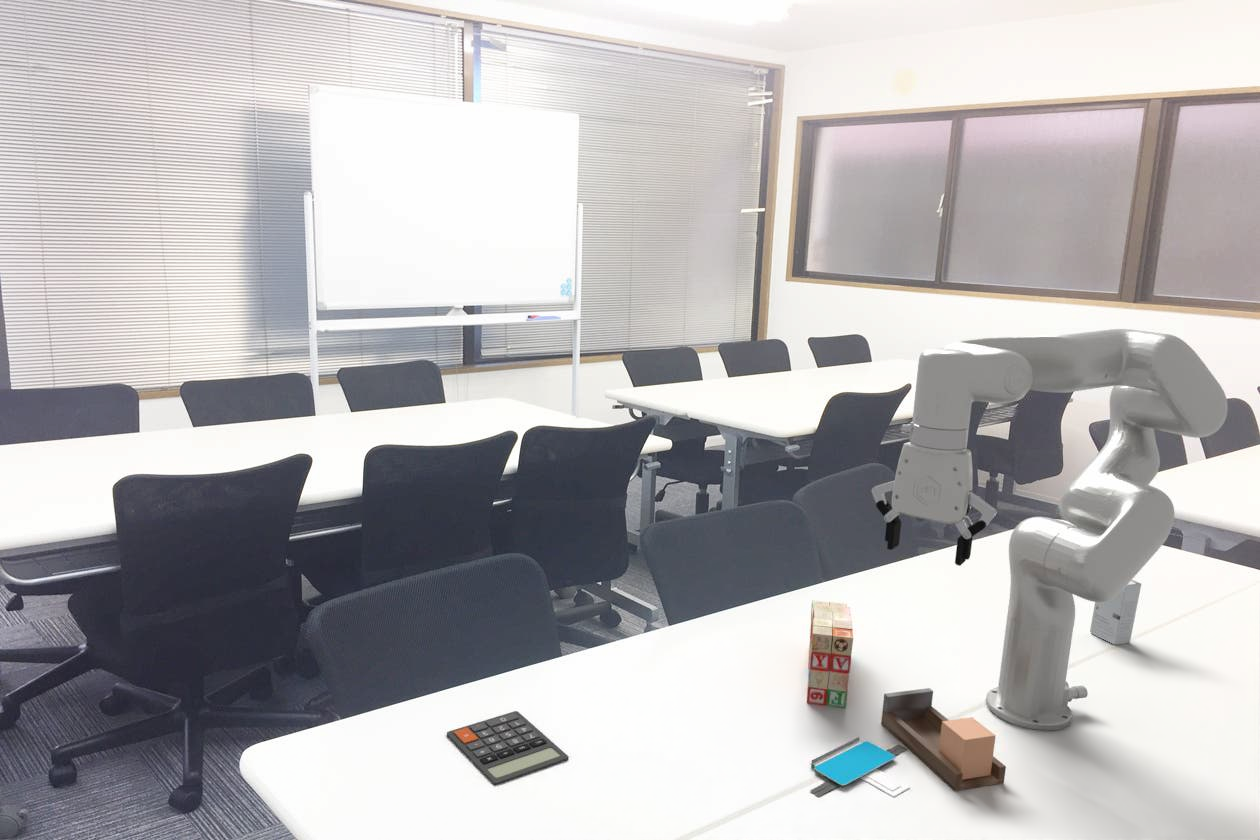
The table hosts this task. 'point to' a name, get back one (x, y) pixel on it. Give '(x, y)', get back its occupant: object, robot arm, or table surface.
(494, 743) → the calculator
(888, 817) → the table surface
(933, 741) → the chute
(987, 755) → the block
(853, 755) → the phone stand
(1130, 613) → the skincare box
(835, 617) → the stack of blocks
